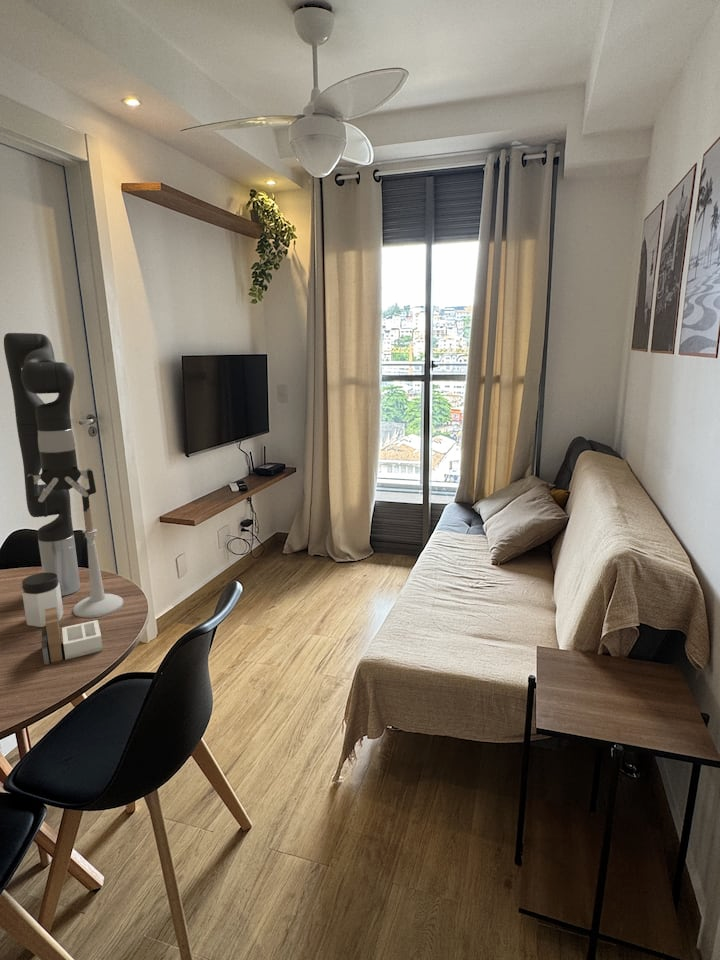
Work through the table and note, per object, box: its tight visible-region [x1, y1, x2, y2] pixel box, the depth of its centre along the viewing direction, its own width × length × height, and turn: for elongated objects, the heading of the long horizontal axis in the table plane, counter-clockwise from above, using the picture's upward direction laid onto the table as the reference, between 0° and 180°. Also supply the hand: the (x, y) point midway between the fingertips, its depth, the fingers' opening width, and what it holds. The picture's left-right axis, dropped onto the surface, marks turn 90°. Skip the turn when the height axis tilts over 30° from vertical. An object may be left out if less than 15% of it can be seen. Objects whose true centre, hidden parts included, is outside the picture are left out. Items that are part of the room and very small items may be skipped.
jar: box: [21, 572, 64, 628], centre depth 142 cm, size 9×8×12 cm
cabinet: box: [40, 619, 104, 666], centre depth 129 cm, size 9×12×5 cm
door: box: [41, 607, 64, 663], centre depth 127 cm, size 8×3×10 cm, turn 31°
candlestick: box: [72, 506, 124, 619], centre depth 147 cm, size 13×13×30 cm
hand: (65, 513), depth 130 cm, fingers open, 8 cm apart
